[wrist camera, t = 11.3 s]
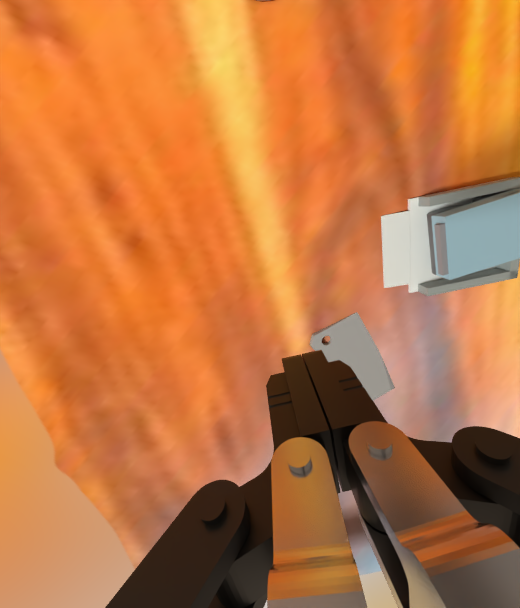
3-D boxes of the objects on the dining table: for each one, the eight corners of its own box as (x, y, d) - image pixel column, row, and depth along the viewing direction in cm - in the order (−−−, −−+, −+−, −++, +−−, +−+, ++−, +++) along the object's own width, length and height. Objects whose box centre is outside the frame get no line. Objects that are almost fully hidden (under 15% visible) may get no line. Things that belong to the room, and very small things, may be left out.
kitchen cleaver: (416, 433, 43) (359, 458, 44) (412, 428, 44) (356, 453, 45) (375, 303, 35) (305, 334, 36) (371, 300, 36) (303, 331, 37)
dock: (380, 205, 32) (391, 204, 29) (509, 177, 31) (531, 175, 29) (383, 296, 36) (393, 303, 33) (498, 272, 35) (517, 277, 33)
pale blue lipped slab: (414, 216, 32) (439, 218, 28) (497, 189, 31) (535, 187, 27) (419, 272, 34) (444, 281, 30) (497, 248, 34) (532, 254, 30)
